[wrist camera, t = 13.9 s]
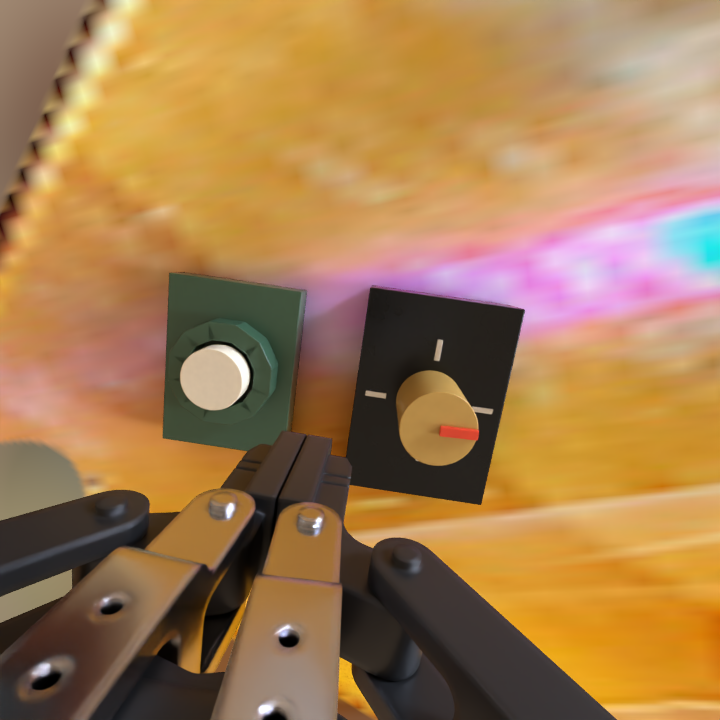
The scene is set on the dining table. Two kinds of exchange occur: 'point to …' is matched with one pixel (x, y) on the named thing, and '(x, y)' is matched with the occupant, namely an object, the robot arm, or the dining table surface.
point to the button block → (248, 336)
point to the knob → (435, 419)
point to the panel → (423, 353)
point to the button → (215, 377)
